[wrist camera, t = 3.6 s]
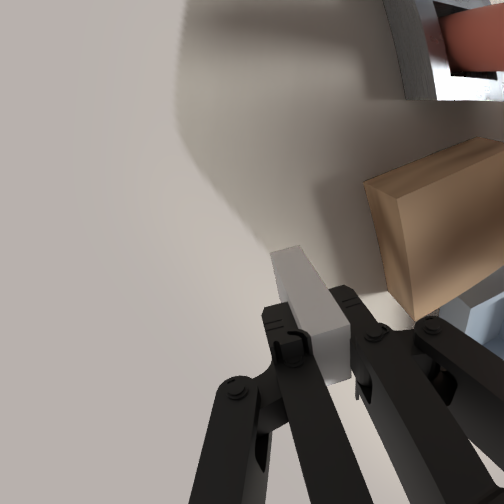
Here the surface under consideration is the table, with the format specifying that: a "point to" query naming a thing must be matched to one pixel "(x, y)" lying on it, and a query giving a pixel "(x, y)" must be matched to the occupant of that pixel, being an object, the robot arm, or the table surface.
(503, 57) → the dowel
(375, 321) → the robot arm
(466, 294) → the tray
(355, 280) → the table surface
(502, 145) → the cardboard box
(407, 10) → the socket
